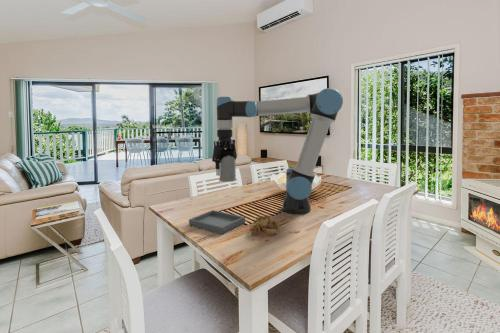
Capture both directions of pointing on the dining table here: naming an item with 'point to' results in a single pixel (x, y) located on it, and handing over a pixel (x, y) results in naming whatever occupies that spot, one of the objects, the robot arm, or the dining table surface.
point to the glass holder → (228, 166)
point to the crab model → (262, 223)
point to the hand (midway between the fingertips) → (225, 174)
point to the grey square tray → (217, 221)
